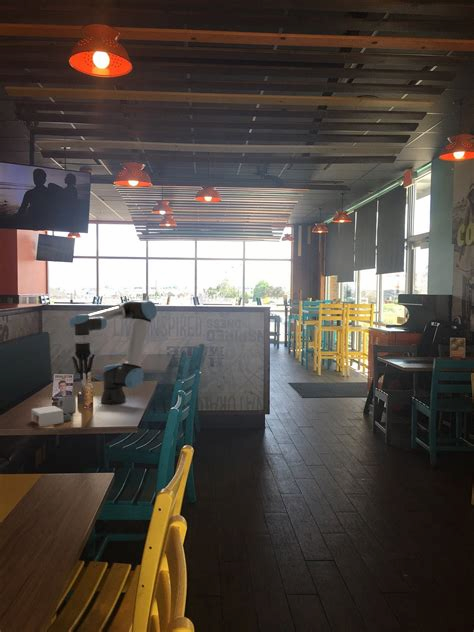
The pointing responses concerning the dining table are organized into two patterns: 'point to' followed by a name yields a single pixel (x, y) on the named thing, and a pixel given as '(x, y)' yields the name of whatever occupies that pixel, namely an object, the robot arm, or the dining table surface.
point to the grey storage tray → (65, 417)
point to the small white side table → (47, 415)
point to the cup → (67, 403)
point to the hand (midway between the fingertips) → (84, 385)
